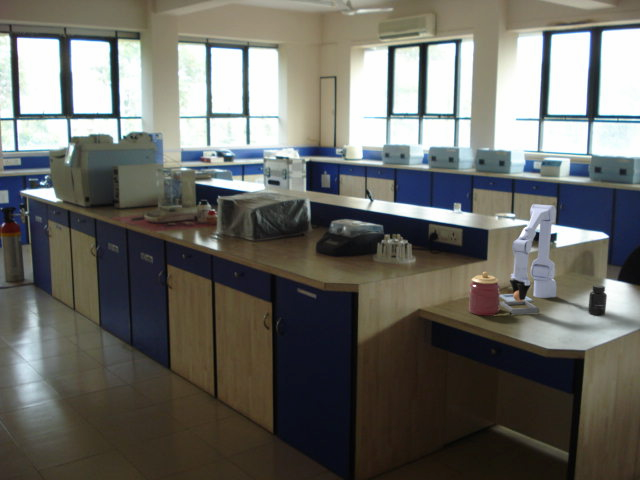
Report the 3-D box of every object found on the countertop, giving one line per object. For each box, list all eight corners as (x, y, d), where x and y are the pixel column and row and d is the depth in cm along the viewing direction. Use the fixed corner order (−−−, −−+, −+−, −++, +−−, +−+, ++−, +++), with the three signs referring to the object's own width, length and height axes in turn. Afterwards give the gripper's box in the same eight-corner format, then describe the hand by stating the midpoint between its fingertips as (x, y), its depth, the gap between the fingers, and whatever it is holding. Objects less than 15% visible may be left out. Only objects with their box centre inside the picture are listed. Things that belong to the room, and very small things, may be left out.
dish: (521, 297, 314) (521, 293, 313) (532, 303, 303) (532, 299, 303) (499, 298, 312) (499, 294, 312) (509, 304, 301) (509, 300, 301)
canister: (503, 315, 285) (505, 275, 282) (473, 316, 284) (474, 275, 281) (493, 307, 298) (495, 268, 294) (464, 308, 297) (466, 268, 294)
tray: (525, 305, 300) (525, 300, 299) (538, 313, 288) (538, 307, 288) (500, 306, 298) (500, 301, 298) (511, 314, 286) (511, 309, 286)
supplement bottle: (597, 316, 282) (599, 288, 280) (584, 312, 288) (586, 285, 286) (609, 314, 285) (611, 286, 283) (595, 310, 291) (597, 283, 289)
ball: (521, 299, 295) (522, 288, 294) (527, 302, 291) (527, 291, 290) (511, 300, 294) (511, 289, 293) (516, 303, 290) (517, 292, 289)
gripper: (504, 264, 296) (503, 294, 299) (519, 271, 282) (517, 302, 285) (520, 263, 297) (518, 293, 300) (535, 270, 283) (533, 301, 286)
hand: (519, 297), depth 292 cm, fingers closed on ball, 5 cm apart
